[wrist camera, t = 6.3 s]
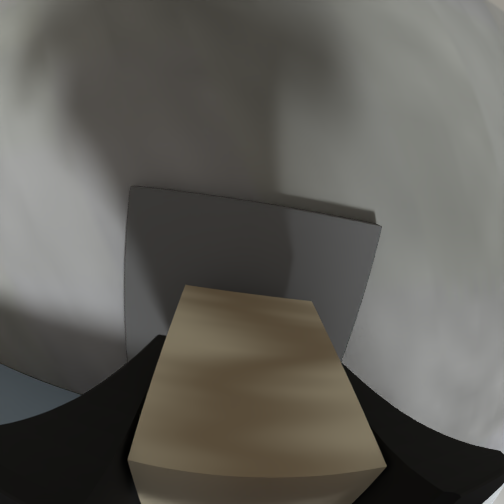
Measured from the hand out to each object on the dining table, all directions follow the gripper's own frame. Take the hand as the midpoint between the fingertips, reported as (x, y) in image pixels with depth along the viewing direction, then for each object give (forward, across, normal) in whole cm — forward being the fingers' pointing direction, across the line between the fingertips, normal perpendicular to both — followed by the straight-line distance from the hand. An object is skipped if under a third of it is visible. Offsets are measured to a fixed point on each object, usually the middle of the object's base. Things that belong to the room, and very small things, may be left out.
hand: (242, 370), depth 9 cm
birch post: (+2, 0, 0) cm, 2 cm away
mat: (+4, 0, 0) cm, 4 cm away
